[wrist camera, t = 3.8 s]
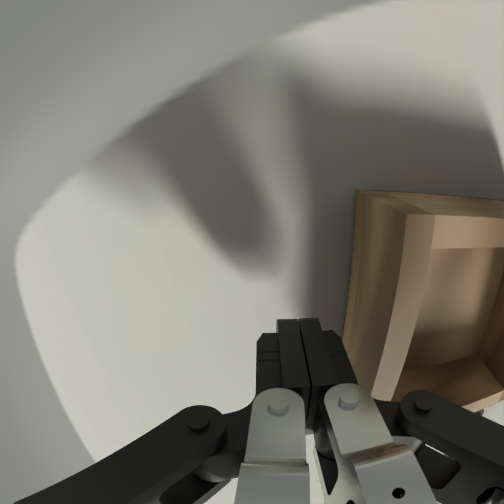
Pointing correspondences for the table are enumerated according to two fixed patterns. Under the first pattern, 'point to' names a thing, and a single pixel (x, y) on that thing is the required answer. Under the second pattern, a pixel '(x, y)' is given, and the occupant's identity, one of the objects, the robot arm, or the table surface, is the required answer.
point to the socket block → (427, 297)
